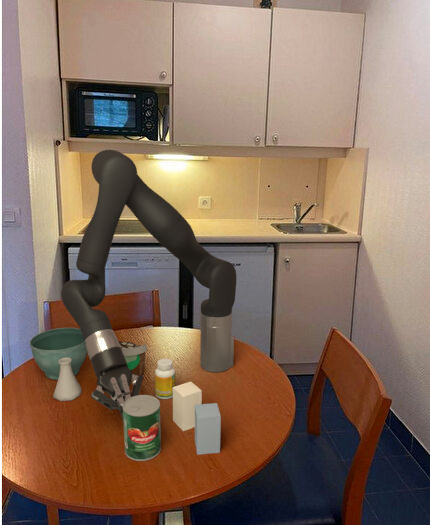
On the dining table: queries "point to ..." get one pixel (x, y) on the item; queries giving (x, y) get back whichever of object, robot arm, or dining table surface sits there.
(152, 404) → the canned tomato
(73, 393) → the flask
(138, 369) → the food container
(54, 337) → the flower pot
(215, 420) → the slate-blue block
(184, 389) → the cream block
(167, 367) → the supplement bottle
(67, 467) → the dining table surface
